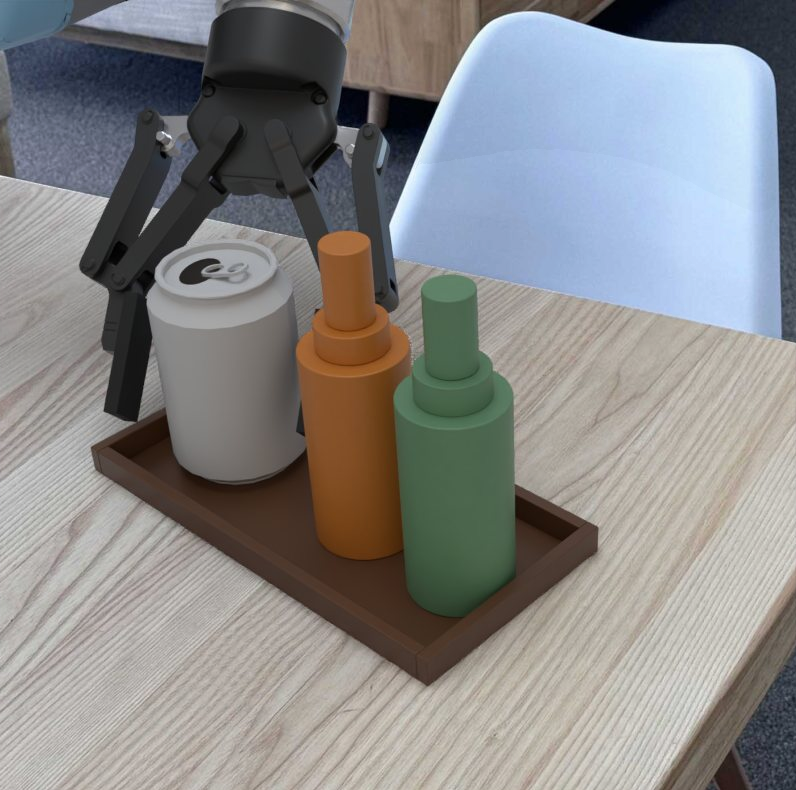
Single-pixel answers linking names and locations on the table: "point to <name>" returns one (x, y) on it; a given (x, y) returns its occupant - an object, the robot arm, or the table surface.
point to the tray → (329, 573)
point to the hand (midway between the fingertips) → (214, 426)
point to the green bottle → (455, 459)
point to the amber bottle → (352, 405)
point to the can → (227, 359)
